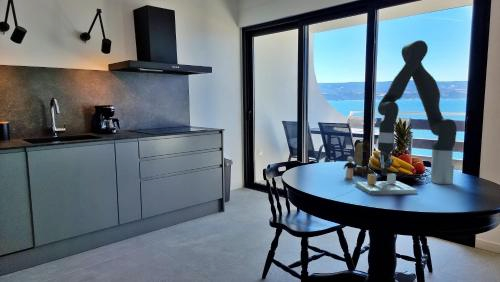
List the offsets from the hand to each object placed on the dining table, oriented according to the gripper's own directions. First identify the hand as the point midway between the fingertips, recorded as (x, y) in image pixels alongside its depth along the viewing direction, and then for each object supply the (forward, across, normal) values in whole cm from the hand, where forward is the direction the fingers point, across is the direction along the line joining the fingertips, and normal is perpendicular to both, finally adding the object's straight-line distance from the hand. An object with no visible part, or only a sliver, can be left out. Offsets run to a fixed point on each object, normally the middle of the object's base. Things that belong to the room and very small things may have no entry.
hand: (384, 175), depth 168 cm
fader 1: (+3, -7, +10) cm, 12 cm away
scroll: (+5, +26, +1) cm, 27 cm away
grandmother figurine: (+5, +13, +13) cm, 19 cm away
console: (+5, -10, +4) cm, 12 cm away
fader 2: (+2, -7, 0) cm, 7 cm away
